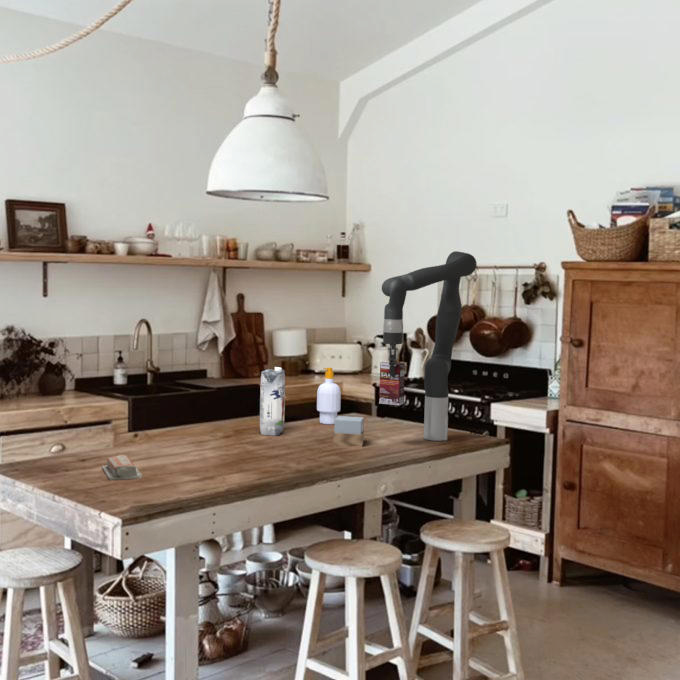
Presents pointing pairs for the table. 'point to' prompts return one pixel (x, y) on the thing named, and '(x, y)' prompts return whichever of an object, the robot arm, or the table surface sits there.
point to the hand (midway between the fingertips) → (392, 374)
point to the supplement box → (391, 384)
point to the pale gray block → (348, 425)
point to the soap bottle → (328, 399)
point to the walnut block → (348, 439)
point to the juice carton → (272, 401)
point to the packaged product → (121, 468)
